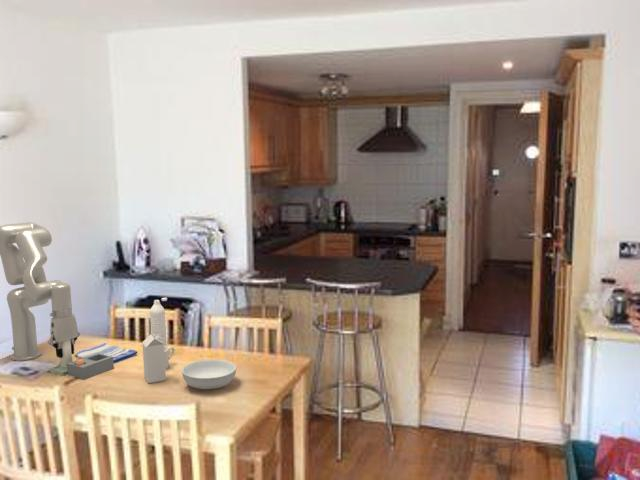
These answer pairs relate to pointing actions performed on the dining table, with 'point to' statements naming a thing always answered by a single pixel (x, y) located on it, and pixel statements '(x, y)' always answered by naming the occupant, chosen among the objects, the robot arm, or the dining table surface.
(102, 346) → the dish towel
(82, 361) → the plunger
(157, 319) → the water bottle
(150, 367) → the milk carton
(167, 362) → the mug
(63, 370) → the tray
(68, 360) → the cylinder
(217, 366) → the serving bowl
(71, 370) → the housing
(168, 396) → the dining table surface
